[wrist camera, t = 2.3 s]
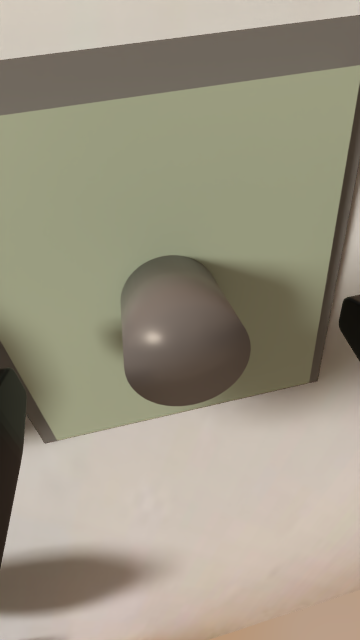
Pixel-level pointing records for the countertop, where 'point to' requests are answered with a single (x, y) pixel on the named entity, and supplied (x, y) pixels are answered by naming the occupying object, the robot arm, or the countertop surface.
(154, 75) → the rubber mat
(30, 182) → the cover
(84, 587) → the countertop surface
